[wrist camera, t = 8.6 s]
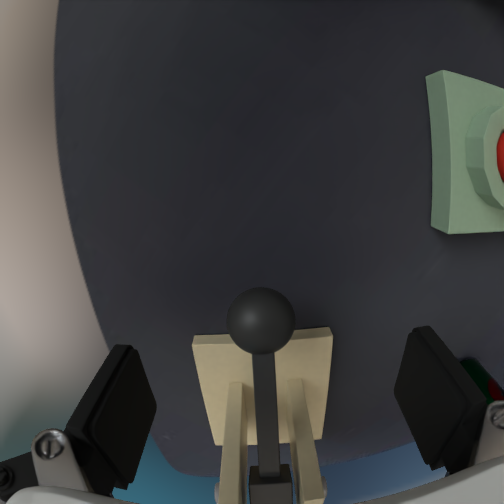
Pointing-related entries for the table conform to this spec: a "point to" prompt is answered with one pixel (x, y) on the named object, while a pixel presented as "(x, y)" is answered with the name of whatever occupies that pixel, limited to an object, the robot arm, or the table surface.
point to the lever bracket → (288, 402)
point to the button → (500, 155)
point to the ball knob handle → (264, 383)
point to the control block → (465, 153)
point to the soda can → (483, 380)
